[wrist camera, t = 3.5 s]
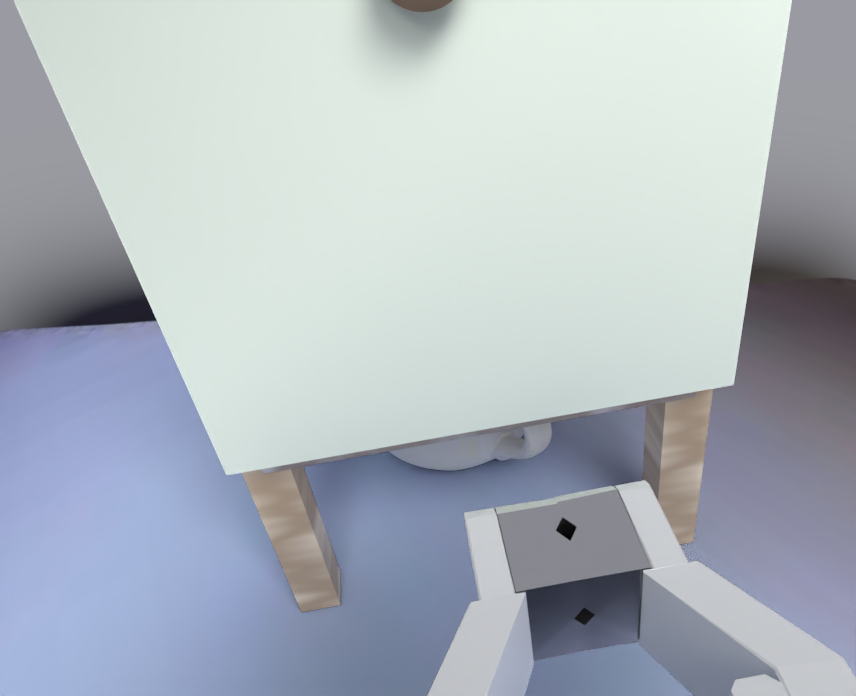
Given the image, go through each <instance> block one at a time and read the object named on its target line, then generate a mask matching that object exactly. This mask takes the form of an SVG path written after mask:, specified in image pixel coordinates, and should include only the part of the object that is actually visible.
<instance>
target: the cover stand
mask: <svg viewBox="0 0 856 696" xmlns="http://www.w3.org/2000/svg"><path fill="white" fill-rule="evenodd" d="M712 393H713V389H708V390H702V391H697V392H691V393H686V394H680V395H674V396H669V397H663V398H658V399H652V400H646V401H641V402H635V403H630V404H624V405H618V406H613V407H607V408H602V409H596V410H590V411H585V412H579V413H574V414H568V415H562V416H557V417H551V418H546V419H540V420H534V421H529V422H523V423H517V424H512V425H506V426H501V427H495V428H489V429H484V430H478V431H473V432H467V433H461V434H456V435H450V436H445V437H439V438H433V439H428V440H422V441H417V442H411V443H405V444H400V445H394V446H389V447H383V448H377V449H372V450H366V451H361V452H355V453H349V454H344V455H338V456H333V457H327V458H321V459H316V460H310V461H305V462H299V463H293V464H288V465H282V466H276V467H271V468H265V469H260V470H254V471H248V472H243V473H242V475H243V477H244V479H245V482H246V484H247V486H248V489H249V491H250V493H251V496H252V498H253V500H254V503H255V505H256V507H257V510H258V512H259V514H260V517H261V519H262V521H263V524H264V526H265V528H266V531H267V533H268V535H269V538H270V540H271V542H272V545H273V547H274V549H275V552H276V554H277V556H278V559H279V561H280V563H281V566H282V568H283V570H284V573H285V575H286V577H287V580H288V582H289V584H290V587H291V589H292V591H293V594H294V596H295V598H296V601H297V603H298V605H299V608H300V610H301V612H305V611H311V610H317V609H322V608H328V607H333V606H339V605H341V572H340V569H339V566H338V563H337V560H336V558H335V555H334V552H333V549H332V546H331V543H330V540H329V538H328V535H327V532H326V529H325V526H324V523H323V520H322V518H321V515H320V512H319V509H318V506H317V503H316V501H315V498H314V495H313V492H312V489H311V486H310V483H309V481H308V478H307V475H306V472H305V469H304V467H305V466H310V465H316V464H321V463H327V462H333V461H338V460H344V459H350V458H355V457H361V456H366V455H372V454H378V453H383V452H389V451H394V450H400V449H406V448H411V447H417V446H422V445H428V444H434V443H439V442H445V441H450V440H456V439H462V438H467V437H473V436H478V435H484V434H490V433H495V432H501V431H506V430H512V429H518V428H523V427H529V426H534V425H540V424H546V423H551V422H557V421H562V420H568V419H574V418H579V417H585V416H590V415H596V414H602V413H607V412H613V411H619V410H624V409H630V408H635V407H641V406H647V407H646V425H645V442H644V460H643V477H642V481H643V480H645V481H646V482H647V483H648V484H650V486H651V488H652V490H653V492H654V494H655V496H656V498H657V500H658V502H659V504H660V506H661V508H662V510H663V512H664V514H665V516H666V518H667V520H668V522H669V524H670V526H671V528H672V530H673V532H674V534H675V536H676V538H677V540H678V542H679V544H685V543H691V542H693V540H694V533H695V525H696V517H697V509H698V502H699V494H700V486H701V479H702V471H703V463H704V455H705V448H706V440H707V432H708V424H709V417H710V409H711V401H712Z"/></svg>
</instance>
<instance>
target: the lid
mask: <svg viewBox="0 0 856 696" xmlns="http://www.w3.org/2000/svg"><path fill="white" fill-rule="evenodd" d="M791 2H792V0H14V3H15V5H16V7H17V9H18V12H19V14H20V16H21V18H22V20H23V23H24V25H25V27H26V29H27V32H28V34H29V36H30V38H31V41H32V43H33V45H34V47H35V49H36V52H37V54H38V56H39V58H40V61H41V63H42V65H43V67H44V70H45V72H46V74H47V76H48V78H49V81H50V83H51V85H52V87H53V90H54V92H55V94H56V96H57V99H58V101H59V103H60V105H61V107H62V110H63V112H64V114H65V116H66V119H67V121H68V123H69V125H70V128H71V130H72V132H73V134H74V136H75V139H76V141H77V143H78V145H79V148H80V150H81V152H82V154H83V156H84V159H85V161H86V163H87V165H88V167H89V170H90V172H91V174H92V177H93V179H94V181H95V183H96V185H97V188H98V190H99V192H100V194H101V197H102V199H103V201H104V203H105V205H106V207H107V210H108V212H109V214H110V217H111V219H112V221H113V223H114V226H115V228H116V230H117V232H118V235H119V237H120V239H121V241H122V243H123V246H124V248H125V250H126V252H127V255H128V257H129V259H130V261H131V264H132V266H133V268H134V270H135V272H136V275H137V277H138V279H139V281H140V284H141V286H142V288H143V290H144V293H145V295H146V297H147V299H148V301H149V304H150V306H151V308H152V310H153V313H154V315H155V317H156V319H157V322H158V324H159V326H160V328H161V330H162V333H163V335H164V337H165V339H166V342H167V344H168V346H169V348H170V351H171V353H172V355H173V357H174V359H175V362H176V364H177V366H178V368H179V371H180V373H181V375H182V377H183V380H184V382H185V384H186V386H187V388H188V391H189V393H190V395H191V397H192V400H193V402H194V404H195V406H196V409H197V411H198V413H199V415H200V417H201V420H202V422H203V424H204V426H205V429H206V431H207V433H208V435H209V438H210V440H211V442H212V444H213V446H214V449H215V451H216V453H217V455H218V458H219V460H220V462H221V464H222V467H223V469H224V471H225V473H226V475H232V474H237V473H243V472H248V471H254V470H260V469H265V468H271V467H276V466H282V465H288V464H293V463H299V462H305V461H310V460H316V459H321V458H327V457H333V456H338V455H344V454H349V453H355V452H361V451H366V450H372V449H377V448H383V447H389V446H394V445H400V444H405V443H411V442H417V441H422V440H428V439H433V438H439V437H445V436H450V435H456V434H461V433H467V432H473V431H478V430H484V429H489V428H495V427H501V426H506V425H512V424H517V423H523V422H529V421H534V420H540V419H546V418H551V417H557V416H562V415H568V414H574V413H579V412H585V411H590V410H596V409H602V408H607V407H613V406H618V405H624V404H630V403H635V402H641V401H646V400H652V399H658V398H663V397H669V396H674V395H680V394H686V393H691V392H697V391H702V390H708V389H714V388H719V387H725V386H730V385H734V379H735V372H736V366H737V359H738V352H739V346H740V339H741V333H742V326H743V319H744V313H745V306H746V300H747V293H748V286H749V280H750V273H751V266H752V260H753V253H754V246H755V240H756V233H757V227H758V220H759V213H760V207H761V200H762V194H763V187H764V181H765V174H766V167H767V161H768V154H769V147H770V139H771V134H772V127H773V120H774V114H775V108H776V101H777V95H778V88H779V81H780V74H781V68H782V62H783V55H784V48H785V42H786V35H787V28H788V22H789V14H790V9H791Z"/></svg>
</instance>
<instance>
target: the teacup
mask: <svg viewBox="0 0 856 696" xmlns="http://www.w3.org/2000/svg"><path fill="white" fill-rule="evenodd" d="M523 435H524V437H525V439H523V438H521V437H522V436H523ZM551 437H552V428H551V423H546V424H540V425H534V426H529V427H523V428H518V429H512V430H506V431H501V432H495V433H490V434H484V435H478V436H473V437H467V438H462V439H456V440H450V441H445V442H439V443H434V444H428V445H422V446H417V447H411V448H406V449H400V450H394V451H389V452H390V453H391V454H393V455H394V456H396V457H397V458H399V459H401V460H402V461H405V462H407V463H409V464H412V465H415V466H418V467H423V468H428V469H436V470H446V471H451V470H462V469H467V468H471V467H475V466H478V465H480V464H483V463H486V462H488V461H490V460H493V459H495V458H496V459H498V460H501V461H504V460H508V459H510V458H512V459H519V460H522V459H529V458H532V457H534V456H536V455H538V454H540V453H541V452H542V451H543V450H545V449H546V447H547V446H548V445H549V443H550V441H551Z"/></svg>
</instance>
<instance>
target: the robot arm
mask: <svg viewBox="0 0 856 696" xmlns="http://www.w3.org/2000/svg"><path fill="white" fill-rule="evenodd" d="M464 521H465V527H466V532H467V538H468V543H469V549H470V555H471V560H472V566H473V571H474V577H475V582H476V588H477V593H478V599H479V600H477V601H472V602H470V604H469V606H468V608H467V610H466V612H465V615H464V617H463V619H462V621H461V623H460V625H459V628H458V630H457V632H456V634H455V636H454V638H453V641H452V643H451V645H450V647H449V649H448V651H447V654H446V656H445V658H444V660H443V662H442V664H441V667H440V669H439V671H438V673H437V675H436V677H435V680H434V682H433V684H432V686H431V688H430V690H429V693H428V695H427V696H525V693H526V689H527V686H528V683H529V680H530V676H531V673H532V670H533V667H534V661H536V660H540V659H545V658H550V657H555V656H559V655H564V654H569V653H574V652H578V651H583V650H589V649H596V648H602V647H609V646H615V645H622V644H628V643H635V642H639V645H640V646H641V647H642V648H643V649H644V650H646V651H647V652H648V653H649V654H650V655H651V656H652V657H653V658H654V659H655V660H656V661H657V662H658V663H659V664H660V665H661V666H662V667H663V668H665V669H666V670H667V671H668V672H669V673H670V674H671V675H672V676H673V677H674V678H675V679H676V680H677V681H678V682H679V683H680V684H681V685H683V686H684V687H685V688H686V689H687V690H688V691H689V692H690V693H691V694H692V695H693V696H856V677H855V676H854V674H853V673H852V671H851V669H850V668H849V666H848V665H847V663H846V661H845V660H844V658H843V657H841V656H840V655H838V654H837V653H835V652H834V651H832V650H831V649H829V648H828V647H826V646H825V645H823V644H822V643H820V642H819V641H817V640H816V639H814V638H813V637H811V636H810V635H808V634H807V633H805V632H804V631H802V630H801V629H799V628H798V627H796V626H795V625H793V624H792V623H790V622H789V621H787V620H786V619H784V618H783V617H781V616H780V615H778V614H777V613H775V612H774V611H772V610H771V609H769V608H768V607H766V606H765V605H763V604H762V603H760V602H759V601H757V600H756V599H754V598H753V597H752V596H750V595H749V594H747V593H746V592H744V591H743V590H741V589H740V588H738V587H737V586H735V585H734V584H732V583H731V582H729V581H728V580H726V579H725V578H723V577H722V576H720V575H719V574H717V573H716V572H714V571H713V570H711V569H710V568H708V567H707V566H705V565H704V564H702V563H701V562H699V561H692V562H688V560H687V558H686V556H685V554H684V552H683V550H682V548H681V546H680V544H679V542H678V540H677V538H676V536H675V534H674V532H673V530H672V528H671V526H670V524H669V522H668V520H667V518H666V516H665V514H664V512H663V510H662V508H661V506H660V504H659V502H658V500H657V498H656V496H655V494H654V492H653V490H652V488H651V486H650V484H648V483H647V482H646V481H645V480H643V481H638V482H632V483H627V484H621V485H616V486H614V487H613V486H608V487H602V488H597V489H592V490H587V491H582V492H577V493H572V494H567V495H562V496H556V497H553V498H551V499H545V500H538V501H532V502H525V503H519V504H512V505H506V506H500V507H495V509H494V508H489V509H483V510H477V511H471V512H465V513H464Z"/></svg>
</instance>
